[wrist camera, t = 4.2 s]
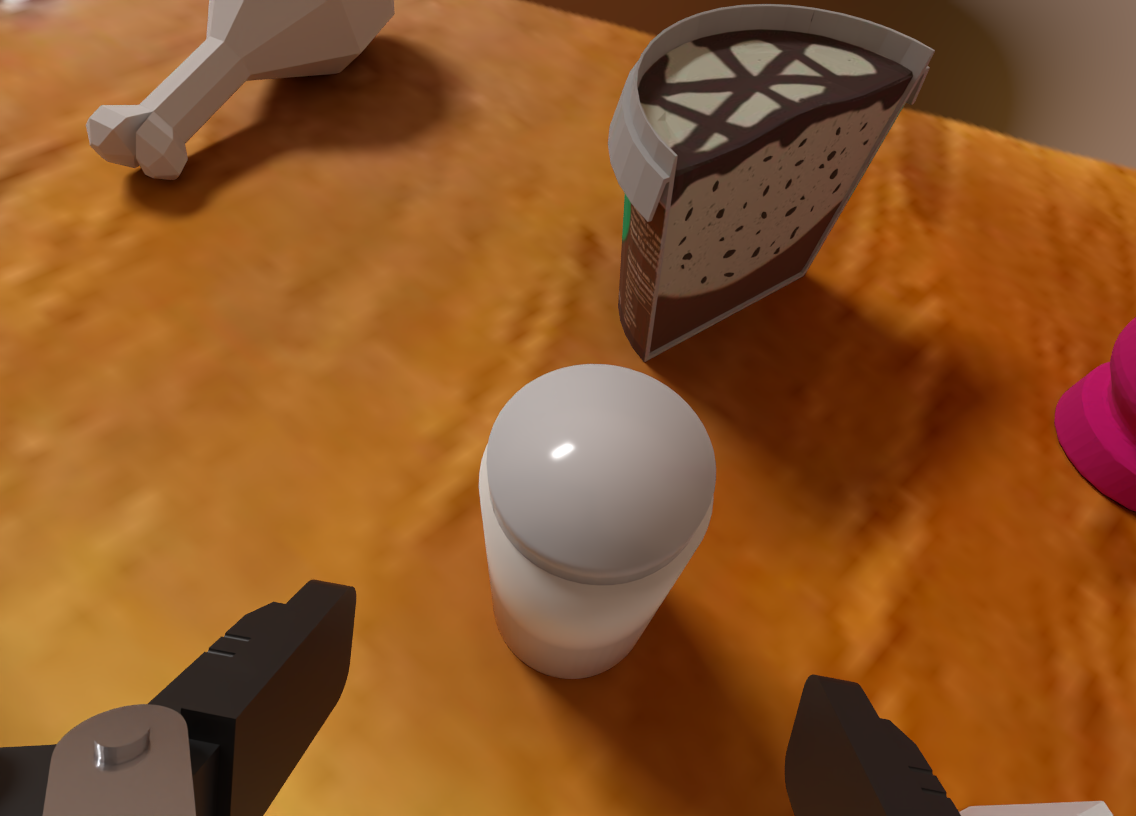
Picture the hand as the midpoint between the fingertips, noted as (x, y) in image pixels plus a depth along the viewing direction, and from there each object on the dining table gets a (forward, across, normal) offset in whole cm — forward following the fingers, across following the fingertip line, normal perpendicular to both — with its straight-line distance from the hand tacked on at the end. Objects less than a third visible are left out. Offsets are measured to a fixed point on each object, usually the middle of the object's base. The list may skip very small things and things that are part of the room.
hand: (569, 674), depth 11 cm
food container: (+20, -2, -7) cm, 22 cm away
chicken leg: (+26, +20, -13) cm, 35 cm away
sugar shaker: (+9, 0, +3) cm, 10 cm away
